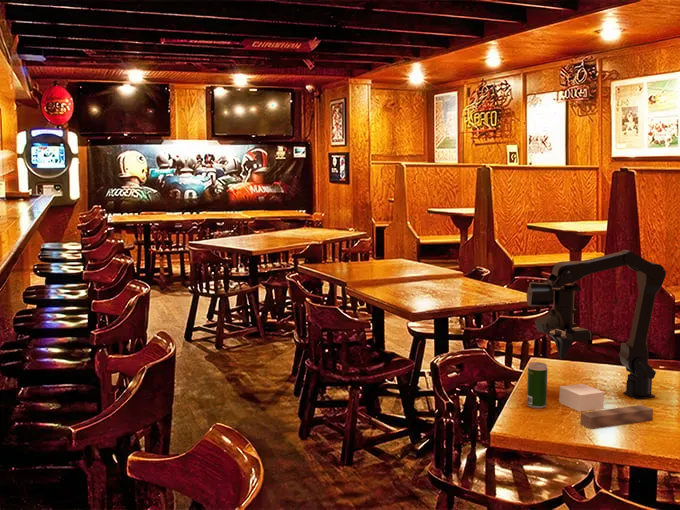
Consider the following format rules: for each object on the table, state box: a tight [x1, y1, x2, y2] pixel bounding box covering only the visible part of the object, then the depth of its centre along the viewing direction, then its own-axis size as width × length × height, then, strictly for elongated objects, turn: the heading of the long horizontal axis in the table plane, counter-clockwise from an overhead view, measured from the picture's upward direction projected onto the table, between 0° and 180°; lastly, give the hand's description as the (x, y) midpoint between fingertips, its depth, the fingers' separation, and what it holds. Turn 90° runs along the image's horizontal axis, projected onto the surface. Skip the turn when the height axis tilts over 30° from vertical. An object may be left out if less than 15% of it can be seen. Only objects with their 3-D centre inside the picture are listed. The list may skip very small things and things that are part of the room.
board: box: [580, 404, 654, 430], centre depth 203 cm, size 20×4×3 cm, turn 110°
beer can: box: [526, 361, 548, 410], centre depth 216 cm, size 5×5×12 cm
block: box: [559, 383, 605, 413], centre depth 217 cm, size 8×9×5 cm
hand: (562, 358), depth 225 cm, fingers closed
